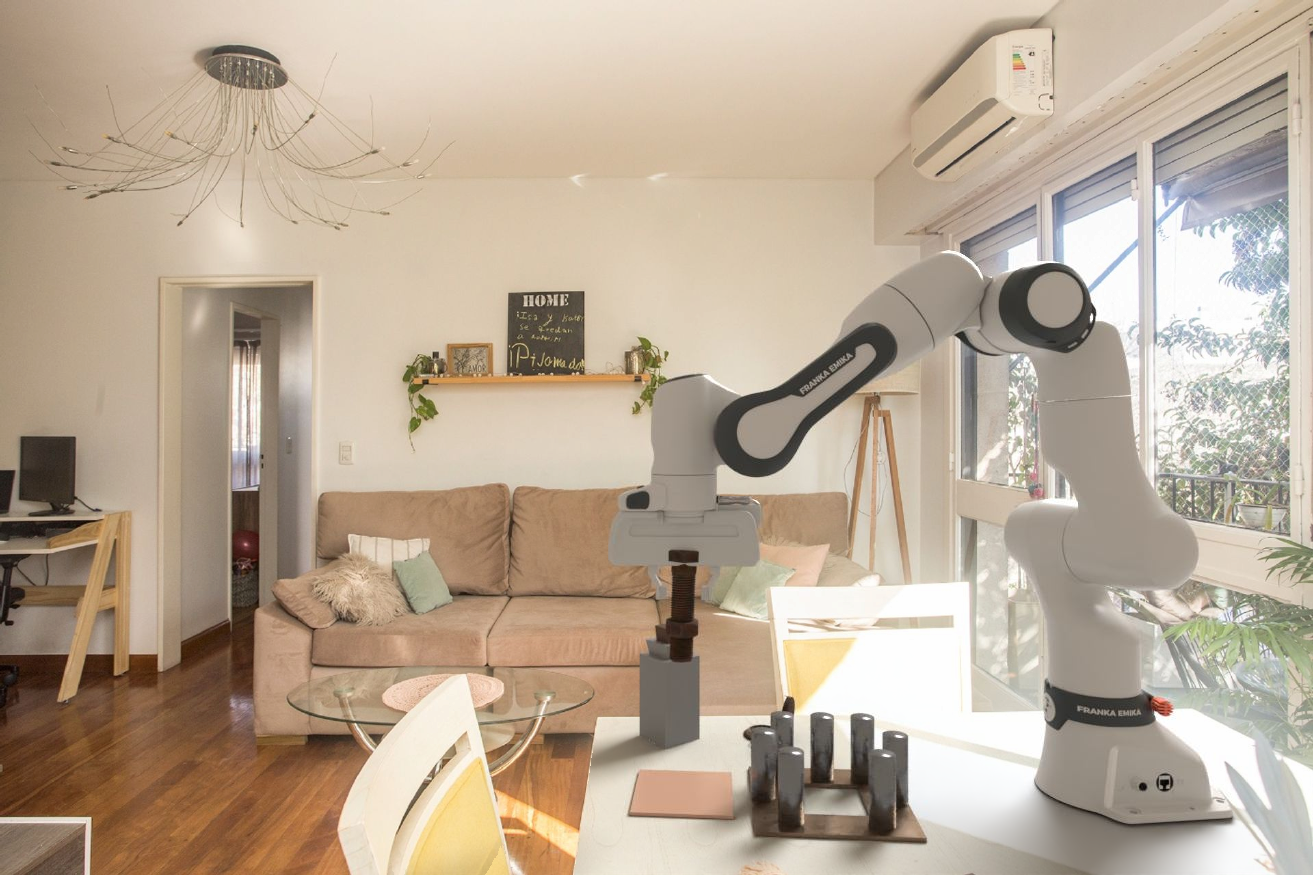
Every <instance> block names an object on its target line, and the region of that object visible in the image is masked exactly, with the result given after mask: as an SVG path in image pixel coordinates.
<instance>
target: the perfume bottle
mask: <svg viewBox="0 0 1313 875" xmlns="http://www.w3.org/2000/svg"><path fill="white" fill-rule="evenodd" d="M654 626H655V627H654V628H655V637H651V638H645V642H646V646H647V648H648V651H645V652H639V736H640V737H642V738H644V739H645V738H646V739H645V740H647V741H649V740H650V741H649V742H650V743H652V742H653V744H654V743H655V744H654V745H656V746H657V747H660V748H661V747H662V748H661V749H663V750H665V749H666V750H668V749H672V748H676V747H678V746H679V747H680V746H681V745H685V744H688V743H691V742H694V741H697V740H700V738H701V737H700V729H701V728H700V726H701V725H700V721H701V720H700V718H701V717H700V715H701V713H700V706H701V705H700V700H701V699H700V687H701V686H700V680H701V678H700V677H701V676H700V674H701V673H700V672H701V671H700V668H701V667H700V666H701V664H700V663H701V662H700V661H701V660H700V659H701V658H700V657H701V656H700V655H699V654H695V653H693V659H692V660H691V661H690V662H684V663H680V662H673V661H671V659H669V658H670V656H669V655H670V642H671V641H670V637H671V636H668V635H667V634H666V623H660V624H656V625H654Z"/></svg>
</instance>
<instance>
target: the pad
mask: <svg viewBox="0 0 1313 875" xmlns="http://www.w3.org/2000/svg"><path fill="white" fill-rule="evenodd" d="M733 796H734V794H733V777H732V772H730V771H700V770H698V771H697V770H672V769H671V770H669V769H667V770H666V769H663V770H662V769H639V771H638V776H637V780H636V783H635V788H634V793H633V798H632V801H631V806H630V809H629V810H630V811H629V816H634V817H635V816H637V817H638V816H641V817H642V816H643V817H666V818H667V817H669V818H696V819H697V818H698V819H719V820H721V819H724V820H734V797H733Z"/></svg>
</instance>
